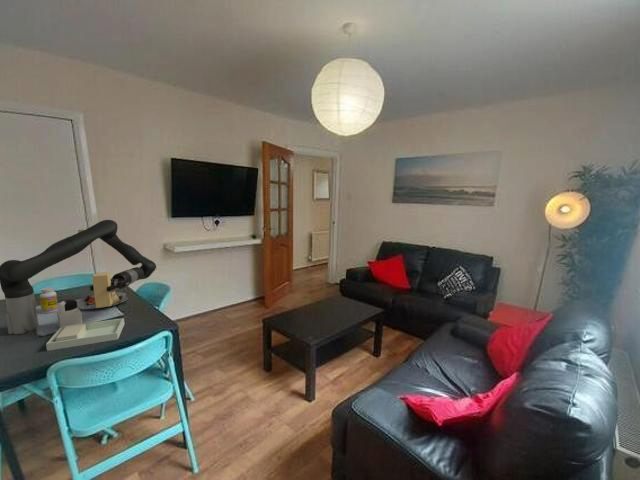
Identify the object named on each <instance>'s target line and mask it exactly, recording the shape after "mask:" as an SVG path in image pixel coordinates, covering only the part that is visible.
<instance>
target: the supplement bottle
mask: <svg viewBox="0 0 640 480" xmlns="http://www.w3.org/2000/svg"><path fill="white" fill-rule="evenodd" d="M40 289H41V290H40V291H41V293H40V294H39V303H40V310H41V313H43V314H51V313H55V312H58V310H59V303H58V295H57V292H56V291H54V287H53V286H48V287H47V286H46V287H43V288H40Z"/></svg>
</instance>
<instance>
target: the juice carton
mask: <svg viewBox="0 0 640 480" xmlns="http://www.w3.org/2000/svg"><path fill="white" fill-rule="evenodd" d="M91 278H92V285H93V287H94V290H93V295H95V304H96V306H95V309H101V308H100V307H103V308H107V307H112V306H111V305H112V303H113V298H112V291H113V290H112V291H109V292H107V287H108V286H111V279H112V278H111V272H110V271H107V272H106V271H105V272H95V273H94V274H92V277H91Z"/></svg>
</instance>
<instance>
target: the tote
mask: <svg viewBox="0 0 640 480" xmlns="http://www.w3.org/2000/svg"><path fill="white" fill-rule="evenodd" d="M125 324H126V323H125V318H122V317H121V318H117V319H116V318H115V319H108V320H102V321H101V320H100V321H94V322H85V325H86V333H85V334H84V336H83V337H82V338H76V339H70V340H63V341H57V342H56V337H57V336H58V335H59V334H60V333H61V331H62V330H63V329H64V328H65V327H66V326H63V327H59V329H58V330H56V332H55V333H54V334H53V335H52V336H51V337H50V339H49V340H48V341H47V342H46V344H45V347H46V351H47V352H48V351H54V350H61V349H68V348H72V347H78V346H79V347H80V346H85V345H91V344H92V345H93V344H98V343H105V342H111V341H117V340H119V338H120V335H121V334H122V330H123V328H124V326H125Z"/></svg>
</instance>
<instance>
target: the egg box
mask: <svg viewBox="0 0 640 480" xmlns="http://www.w3.org/2000/svg"><path fill="white" fill-rule="evenodd" d="M85 323H86V322H85ZM85 323H84V322H83V324H75V325H68V326H66V327H65V328H64V329H63V330H62V331H61V333H60V334H59V335H58V336H57V337H56V342H57V341H63V340H70V339H76V338H82V337H83V336H84V334H85V333H86V325H85Z"/></svg>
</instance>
